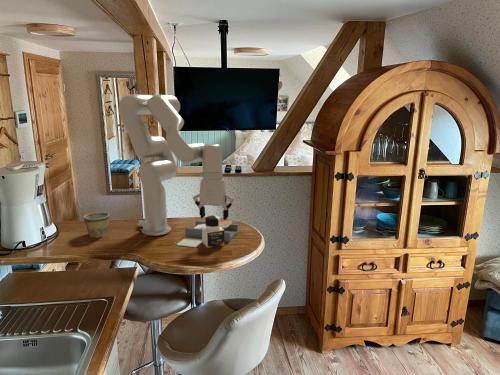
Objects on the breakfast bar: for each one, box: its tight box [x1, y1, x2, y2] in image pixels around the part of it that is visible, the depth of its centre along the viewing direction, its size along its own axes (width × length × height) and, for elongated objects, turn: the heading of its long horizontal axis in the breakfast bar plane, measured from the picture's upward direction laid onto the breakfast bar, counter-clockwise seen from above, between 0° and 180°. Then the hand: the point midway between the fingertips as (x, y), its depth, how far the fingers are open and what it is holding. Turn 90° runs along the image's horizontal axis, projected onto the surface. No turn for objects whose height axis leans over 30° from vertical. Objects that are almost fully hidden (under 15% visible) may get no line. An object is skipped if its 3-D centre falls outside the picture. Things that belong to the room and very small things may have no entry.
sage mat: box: [176, 237, 203, 248], centre depth 152 cm, size 8×8×1 cm
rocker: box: [194, 220, 233, 229], centre depth 161 cm, size 16×7×1 cm, turn 74°
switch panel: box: [184, 220, 239, 243], centre depth 161 cm, size 20×12×5 cm, turn 74°
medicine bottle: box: [201, 214, 225, 249], centre depth 150 cm, size 7×7×12 cm
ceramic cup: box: [83, 211, 110, 239], centre depth 158 cm, size 13×10×10 cm
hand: (214, 218), depth 148 cm, fingers open, 9 cm apart
